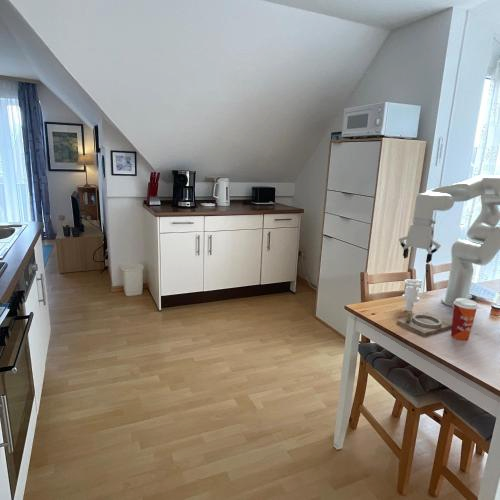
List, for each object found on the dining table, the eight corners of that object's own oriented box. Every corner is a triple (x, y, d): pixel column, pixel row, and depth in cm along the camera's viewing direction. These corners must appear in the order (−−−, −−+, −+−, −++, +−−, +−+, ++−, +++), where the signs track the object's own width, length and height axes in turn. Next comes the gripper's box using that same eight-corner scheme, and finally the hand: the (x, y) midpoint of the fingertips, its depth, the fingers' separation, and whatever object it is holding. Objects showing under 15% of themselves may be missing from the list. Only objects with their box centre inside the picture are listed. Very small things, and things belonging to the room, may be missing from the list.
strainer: (418, 314, 163) (423, 282, 159) (402, 312, 164) (407, 280, 161) (415, 308, 170) (420, 277, 166) (399, 306, 171) (403, 276, 167)
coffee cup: (459, 343, 137) (466, 306, 134) (442, 333, 145) (449, 298, 141) (476, 340, 140) (484, 304, 136) (459, 331, 147) (466, 296, 144)
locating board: (427, 315, 162) (429, 303, 161) (455, 327, 151) (457, 315, 150) (396, 323, 153) (398, 311, 151) (424, 336, 142) (426, 323, 140)
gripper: (446, 224, 154) (440, 262, 158) (405, 218, 165) (400, 254, 169) (440, 226, 149) (434, 265, 153) (398, 220, 160) (393, 257, 164)
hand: (416, 260), depth 161 cm, fingers open, 9 cm apart
